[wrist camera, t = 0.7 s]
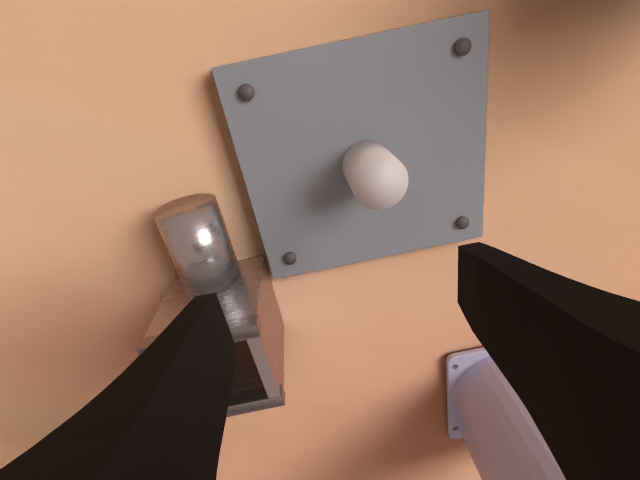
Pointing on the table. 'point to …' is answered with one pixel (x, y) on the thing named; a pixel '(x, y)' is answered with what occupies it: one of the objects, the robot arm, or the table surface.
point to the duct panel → (356, 108)
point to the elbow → (223, 298)
